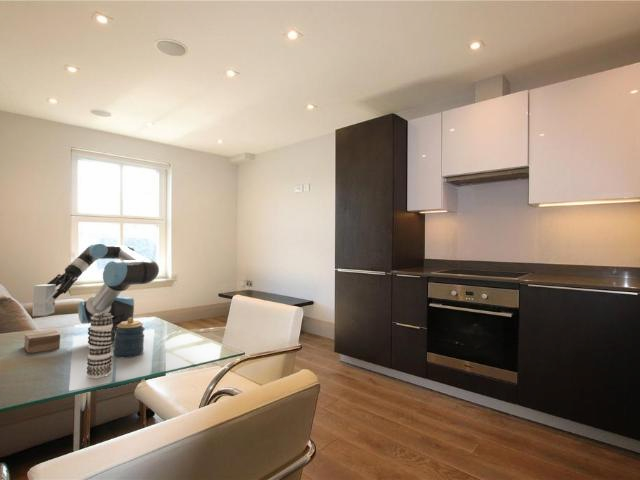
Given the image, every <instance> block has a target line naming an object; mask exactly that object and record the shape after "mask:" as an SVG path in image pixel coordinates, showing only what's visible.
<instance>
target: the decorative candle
mask: <svg viewBox="0 0 640 480" xmlns="http://www.w3.org/2000/svg"><path fill="white" fill-rule="evenodd" d="M113 317H114V316H112V315H111V313H109V312H100V313H96V314H94V315H93V316H92V317H91V323H90V325H89V327H88V328H87V335H88V337H87V343H88V347H87V348H88V349H89V352H88V358H87V360H86V361H87V363H86V365H87V367H86V377H87V378H89V379H98V378H99V379H101V378H104V377H107V376H110V375H111V374H112V372H111V371H112V357H113V356H112V346H113V342H114V341H113V339H111V337H113V336H114V335H113V334H111V333H114V331H113V330H112V327H113V328H114V327H115V326H113V323H112V318H113ZM106 375H107V376H106Z"/></svg>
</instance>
